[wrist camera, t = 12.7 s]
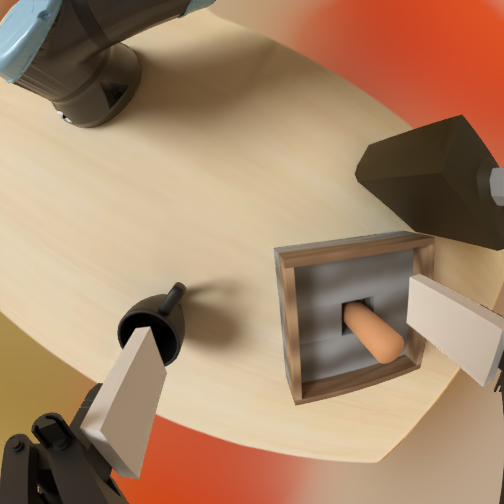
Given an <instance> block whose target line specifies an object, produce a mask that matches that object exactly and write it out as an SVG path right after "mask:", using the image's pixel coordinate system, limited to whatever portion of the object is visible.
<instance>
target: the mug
mask: <svg viewBox="0 0 504 504" xmlns="http://www.w3.org/2000/svg"><path fill="white" fill-rule="evenodd" d="M185 291H186V287H185V285H183V284H182V283H180V282H177V283H175V285H174V286H173V288H172V289H171V290H170V292H169V293H168V295H164V294H161V295H156V296H152V297H149V298H146V299H144V300H142V301H140V302H138V303H137V304H136V305H134V306H133V307H132V308H131V309H130V310H129V311H128V312H127V313H126V314H125V315H124V317H123V318H122V319H121V321H120V323H119V326H118V340H119V343H120V346H121V347H122V349H124V347H125V345H126V344H127V342H128V340H129V339H130V337H131V335H132V334H133V332H134V330H135V329H136V328H143V327H150V328H151V331H152V334H153V337H154V340H155V342H156V345H157V348H158V351H159V354H160V356H161V359H162V362H163V364H164V367H165V366H167V365H169V364H171V363H172V362H173V361H174V360H175V359H176V358H177V356H178V355H179V352H180V349H181V346H182V343H183V339H184V333H185V326H184V318H183V314H182V309H181V306H180V304H179V303H178V301H179V300H180V298H181V297H182V296H183V294H184V293H185Z"/></svg>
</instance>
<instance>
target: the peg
mask: <svg viewBox="0 0 504 504" xmlns="http://www.w3.org/2000/svg"><path fill="white" fill-rule="evenodd" d="M342 320H343V322H344V323H345V324H346V325H347V326H348V327H349V328H350V330H351V331H352V332H353V333H354V334H355V335H356V336H357V337H358V339H359V340H360V341H361V342H362V343H363V344H364V345H365V347H366V348H367V349H368V350H369V351H370V352H371V354H372V355H373V356H374V357H375V358H376V359H377V360H378V362H380V363H382V364H386V363H390V362H392V361H393V360H395V359H396V358H397V357H398V356H399V355H400V353H401V352H402V350H403V347H404V339H403V337H402V336H400V335H399V334H398V333H397V332H396V331H395V330H393V329H392V328H391V327H390V326H389V325H388V324H386V323H385V322H384V321H383V320H382V319H381V318H379V317H378V316H377V315H376V314H375V313H373V312H372V311H371V310H370V309H369V308H367V307H366V306H365V305H364V304H363V303H361V302H360V301H359V300H354V301H349V302H344V303H342Z"/></svg>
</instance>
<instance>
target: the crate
mask: <svg viewBox="0 0 504 504" xmlns="http://www.w3.org/2000/svg"><path fill="white" fill-rule="evenodd" d="M274 255H275V265H276V274H277V284H278V294H279V304H280V314H281V324H282V335H283V346H284V358H285V370H286V377H287V380H288V384H289V387H290V390H291V393H292V396H293V399H294V403H295V405H300V404H305V403H310V402H314V401H319V400H323V399H327V398H331V397H335V396H339V395H343V394H346V393H350V392H353V391H357V390H360V389H363V388H367V387H370V386H373V385H376V384H379V383H382V382H385V381H388V380H391V379H393V378H396V377H399V376H401V375H404V374H407V373H409V372H412V371H414V370H417V369H419V368H420V366H421V362H422V357H423V352H424V347H425V341H426V338H425V337H423V336H422V335H421V334H420V333H418V332H417V331H416V330H415V329H414V328H412V327H411V326H410V325H409V324H407V323H406V322H407V311H408V298H409V279H410V277H411V276H414V275H418V274H421V275H423V276H425V277H427V278H429V279H431V280H433V266H434V237H430V236H426V235H421V234H417V233H412V232H408V231H398V232H390V233H383V234H375V235H368V236H361V237H353V238H346V239H338V240H331V241H323V242H316V243H308V244H301V245H294V246H286V247H279V248H274ZM358 299H363V304H364V305H365V306H366V307H367V308H369V309H370V310H371V311H372V312H373V313H375V314H376V315H377V316H378V317H379V318H381V319H382V320H383V321H384V322H385V323H386V324H388V325H389V326H390V327H391V328H392V329H393V330H395V331H396V332H397V333H398V334H399V335H400V336H402V337H403V339H404V347H403V350H402V352H401V353H400V355H399V356H398V357H397V358H396V359H395V360H393V361H392V362H390V363H386V364H382V363H380V362H378V360H377V359H376V358H375V357H374V356H373V355H372V354H371V352H370V351H369V350H368V349H367V348H366V347H365V345H364V344H363V343H362V342H361V341H360V340H359V339H358V337H357V336H356V335H355V334H354V333H353V332H352V331H351V330H350V328H349V327H348V326H347V325H346V324H345V323H342V303H344V302H349V301H354V300H358Z"/></svg>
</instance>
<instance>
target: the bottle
mask: <svg viewBox="0 0 504 504" xmlns="http://www.w3.org/2000/svg"><path fill="white" fill-rule="evenodd" d="M355 175H356V178H357V180H358V182H359V183H360V184H362V185H363V186H364V187H365V188H367V189H368V190H369V191H370V192H372V193H373V194H374V195H375V196H376V197H378V198H379V199H380V200H381V201H382V202H383V203H385V204H386V205H387V206H388V207H389V208H390V209H391V210H393V211H394V212H395V213H396V214H397V215H398V216H399V217H400V218H401V219H402V220H404V221H405V222H406V223H407V224H408V225H409V226H410V227H411V228H412V229H413V230H414V231H416V232H421V233H426V234H430V235H435V236H439V237H444V238H448V239H453V240H457V241H461V242H465V243H469V244H473V245H477V246H481V247H485V248H489V249H493V250H497V251H498V250H502V249H504V167H501V168H500V167H499V166H498V164H497V162H496V161H495V159H494V158H493V156H492V155H491V153H490V152H489V150H488V149H487V147H486V146H485V144H484V143H483V141H482V140H481V139H480V137H479V136H478V135H477V133H476V132H475V130H474V129H473V128H472V127H471V125H470V124H469V123H468V121H467V120H466V119H465V118H464V117H463V115H459V116H455V117H452V118H449V119H445V120H442V121H439V122H435V123H432V124H429V125H426V126H423V127H420V128H417V129H414V130H411V131H408V132H405V133H402V134H399V135H396V136H393V137H390V138H387V139H385V140H382V141H379V142H376V143H373V144H371V145H369V146H368V148H367V150H366V151H365V153H364V155H363V157H362V158H361V160H360V162H359V164H358V165H357V169H356V172H355Z"/></svg>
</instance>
